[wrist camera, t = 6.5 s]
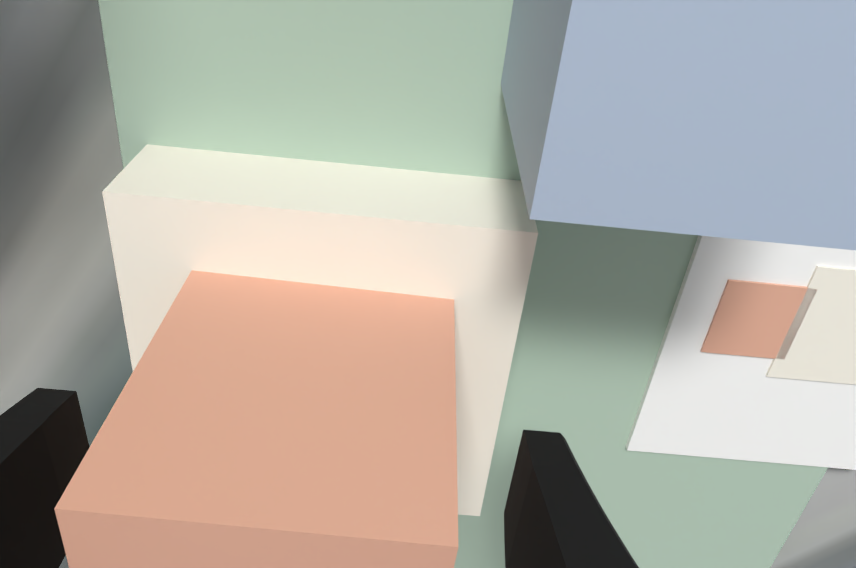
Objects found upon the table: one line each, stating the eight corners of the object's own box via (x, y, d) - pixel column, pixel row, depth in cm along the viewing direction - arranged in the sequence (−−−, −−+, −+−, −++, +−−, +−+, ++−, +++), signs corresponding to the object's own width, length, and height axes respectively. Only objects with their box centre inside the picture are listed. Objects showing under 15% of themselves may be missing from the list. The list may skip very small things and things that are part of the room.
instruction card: (1065, 155, 13) (1075, 161, 12) (871, 466, 17) (876, 473, 17) (737, 122, 12) (742, 127, 12) (625, 445, 17) (627, 452, 17)
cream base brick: (526, 181, 13) (538, 232, 11) (476, 447, 17) (479, 516, 15) (147, 144, 13) (102, 191, 11) (182, 423, 17) (153, 489, 15)
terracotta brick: (423, 477, 15) (415, 738, 10) (205, 455, 14) (106, 713, 10) (454, 299, 12) (458, 547, 8) (191, 269, 12) (54, 508, 8)
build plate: (1131, -106, 11) (1159, -104, 10) (689, 683, 23) (693, 699, 23) (79, -228, 10) (64, -229, 10) (202, 647, 23) (197, 662, 22)
